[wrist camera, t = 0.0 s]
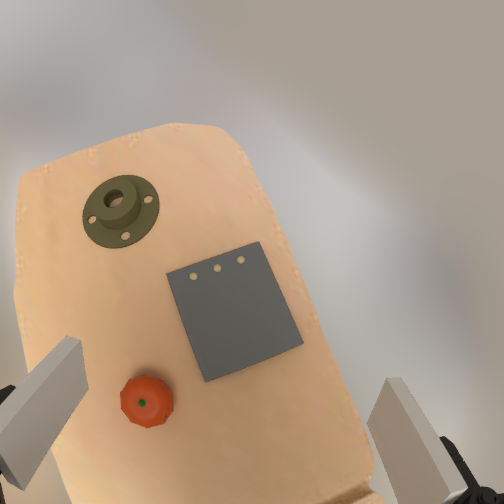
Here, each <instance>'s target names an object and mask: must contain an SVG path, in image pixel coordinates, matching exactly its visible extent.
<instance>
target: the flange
mask: <svg viewBox="0 0 504 504" xmlns="http://www.w3.org/2000/svg"><path fill="white" fill-rule="evenodd" d="M147 196H152V197H153V200H152V201H151V202H150V203H144V198H145V197H147ZM120 197H123V201H122V202H121V204H120V205H118V206H117V207H114V208H109V207H108V205H109V204H110V203H111V202H112V201H113V200H115V199H116V198H120ZM158 213H159V199H158V195H157V192H156V190H155V189H154V187H153V186H152V185H151V184H150V183H149V182H148V181H147V180H145V179H143V178H141V177H138V176H134V175H122V176H117V177H114V178H111V179H109V180H107V181H105V182H103V183H102V184H101V185H99V186H98V187H97V188H96V189H95V190H94V191H93V192H92V193H91V195H90V196H89V198H88V200H87V202H86V204H85V206H84V210H83V226H84V229H85V231H86V233H87V235H88V236H89V237H90V238H91V240H92V241H94V242H95V243H96V244H98V245H100V246H102V247H106V248H113V249H115V248H123V247H127V246H129V245H132V244H134V243H136V242H137V241H139V240H140V239H142V238H143V237H144V236H145V235H146V234H147V233H148V232H149V231H150V230H151V228H152V227H153V225H154V224H155V222H156V219H157V217H158ZM92 216H96V221H95V222H94V223H92V224H89V223H88V220H89V218H90V217H92ZM124 232H129V233H130V237H129V239H128V240H122V239H121V235H122V234H123V233H124Z"/></svg>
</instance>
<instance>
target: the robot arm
mask: <svg viewBox="0 0 504 504" xmlns="http://www.w3.org/2000/svg"><path fill="white" fill-rule="evenodd" d="M87 390H88V383H87V377H86V371H85V365H84V358H83V351H82V343H81V340H80V339H76V338H73V337H69V336H66V337H65V338H64V339H63V340H62V341H61V342H60V343H59V344H58V345H57V346H56V347H55V348H54V349H53V350H52V351H51V352H50V353H49V354H48V355H47V356H46V357H45V358H44V359H43V360H42V361H41V362H40V363H39V364H38V365H37V366H36V367H35V368H34V369H33V370H32V371H31V372H30V373H29V375H28V376H27V377H26V378H25V379H24V380H23V381H22V382H21V383H20V384H19V385H18V386H17V387H15V386H12V385H9V386H7V387H5V388H3V389H1V390H0V475H1V473H2V474H3V476H4V477H5V478H6V480H7V482H9V483H10V484H12V485H14V486H16V487H18V488H19V489H21V490H23V491H24V490H25V488H26V487H27V485H28V484H29V482H30V480H31V478H32V477H33V475H34V473H35V472H36V470H37V468H38V467H39V465H40V463H41V462H42V460H43V458H44V457H45V455H46V454H47V452H48V450H49V449H50V447H51V446H52V444H53V442H54V441H55V439H56V438H57V436H58V435H59V433H60V431H61V430H62V428H63V427H64V425H65V424H66V422H67V421H68V419H69V418H70V416H71V414H72V413H73V411H74V410H75V408H76V407H77V405H78V404H79V402H80V401H81V399H82V398H83V396H84V395H85V393H86V392H87ZM367 425H368V427H369V430H370V432H371V435H372V437H373V439H374V442H375V444H376V447H377V449H378V452H379V454H380V457H381V459H382V462H383V464H384V467H385V469H386V472H387V475H388V477H389V480H390V482H391V485H392V487H393V490H394V493H395V495H396V498H397V501H398V503H399V504H504V493H502V494H497V493H496V492H495V491H494V490H492V489H491V488H489V487H483V486H482V487H480V486H479V485H478V483H477V481H476V479H475V478H474V476H473V475H472V473H471V471H470V470H469V468H468V466H467V465H466V463H465V461H463V458H462V457H461V455H460V454H459V452H458V450H457V449H456V447H455V445H454V444H453V443H452V442H451V441H450V440H448V439H447V438H446V437H445V436H443V437H438V436H437V434H436V432H435V430H434V429H433V427H432V426H431V424H430V422H429V421H428V419H427V417H426V416H425V414H424V413H423V411H422V410H421V408H420V406H419V405H418V403H417V402H416V400H415V399H414V397H413V395H412V394H411V392H410V391H409V389H408V388H407V386H406V385H405V383H404V382H403V380H402V378H386V380H385V383H384V385H383V388H382V390H381V392H380V395H379V397H378V399H377V402H376V404H375V406H374V408H373V410H372V413H371V415H370V417H369V419H368V421H367ZM0 504H5V499H4V495H3V491H2V487H1V483H0Z"/></svg>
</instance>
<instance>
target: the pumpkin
mask: <svg viewBox="0 0 504 504" xmlns="http://www.w3.org/2000/svg"><path fill="white" fill-rule="evenodd" d="M120 397H121V409H122V411H123V412H124V413H125V414H126V416H127V417H128V419H129V420H130V422H132V423H135V424H138V425H140V426H143V427H145V428H150V427H153V426H157V425H161V424H164V423H165V421H166V420H167V418H168V417H169V416H170V414H171V413H172V411H173V397H172V393H171V392H170V390H169V389H168V388H167V387H166V385H165V384H164V383H163V381H162V380H159V379H156V378H153V377H150V376H147V375H143V376H140V377H137V378H133V379H130V380H129V381H128V382H127V384H126V385H125V387H124V388H123V390H122V391H121V392H120Z"/></svg>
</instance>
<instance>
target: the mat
mask: <svg viewBox="0 0 504 504" xmlns="http://www.w3.org/2000/svg"><path fill="white" fill-rule="evenodd" d="M166 275H167V278H168V281H169V284H170V287H171V290H172V293H173V296H174V299H175V302H176V305H177V308H178V311H179V313H180V316H181V319H182V322H183V325H184V327H185V330H186V333H187V336H188V338H189V341H190V344H191V346H192V349H193V352H194V354H195V357H196V359H197V362H198V365H199V367H200V370H201V372H202V375H203V377H204V380H205V382H208V381H211V380H214V379H217V378H219V377H222V376H225V375H227V374H230V373H233V372H235V371H238V370H241V369H243V368H246V367H248V366H251V365H253V364H256V363H258V362H261V361H263V360H266V359H268V358H271V357H273V356H275V355H278V354H280V353H283V352H285V351H287V350H290V349H292V348H294V347H297V346H299V345H301V344H303V343H304V342H303V340H302V338H301V335H300V333H299V331H298V328H297V326H296V324H295V322H294V319H293V317H292V315H291V313H290V310H289V308H288V306H287V303H286V301H285V299H284V297H283V294H282V292H281V290H280V288H279V285H278V283H277V281H276V279H275V276H274V274H273V272H272V270H271V267H270V265H269V263H268V261H267V258H266V256H265V254H264V252H263V249H262V247H261V245H260V243H259V242H256V243H253V244H251V245H248V246H245V247H242V248H239V249H236V250H233V251H230V252H228V253H225V254H222V255H219V256H216V257H213V258H210V259H207V260H205V261H202V262H199V263H196V264H193V265H190V266H187V267H185V268H182V269H179V270H176V271H173V272H170V273H167V274H166Z"/></svg>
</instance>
